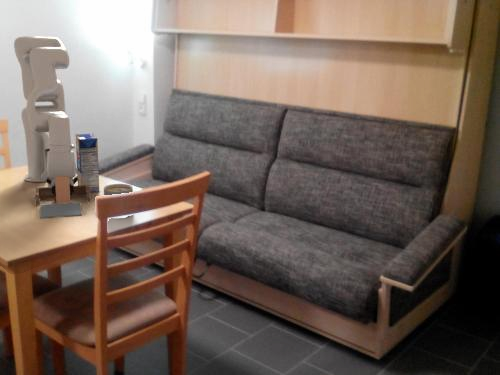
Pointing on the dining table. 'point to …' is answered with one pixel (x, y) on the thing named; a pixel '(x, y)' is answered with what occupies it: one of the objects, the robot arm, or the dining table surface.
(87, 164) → the beverage box
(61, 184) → the block
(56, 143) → the robot arm
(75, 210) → the mat
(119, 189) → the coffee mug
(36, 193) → the frame
